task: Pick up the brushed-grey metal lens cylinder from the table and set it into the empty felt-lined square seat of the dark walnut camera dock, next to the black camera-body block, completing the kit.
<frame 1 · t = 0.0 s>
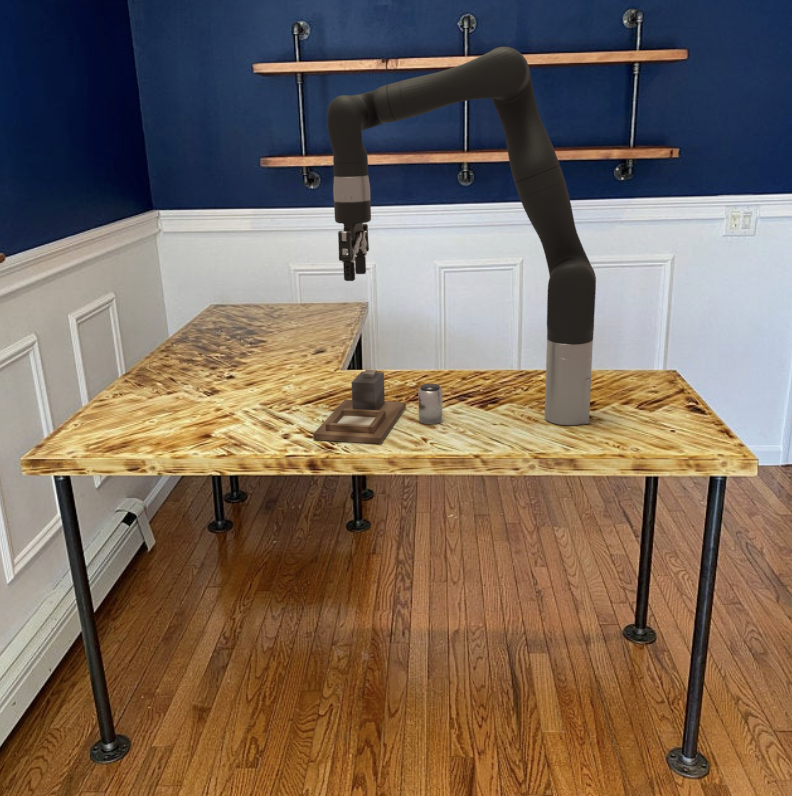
hand: (355, 277, 175), 29 cm above the table, fingers open, 8 cm apart
lens: (430, 420, 175), on the table
dock: (361, 422, 175), on the table
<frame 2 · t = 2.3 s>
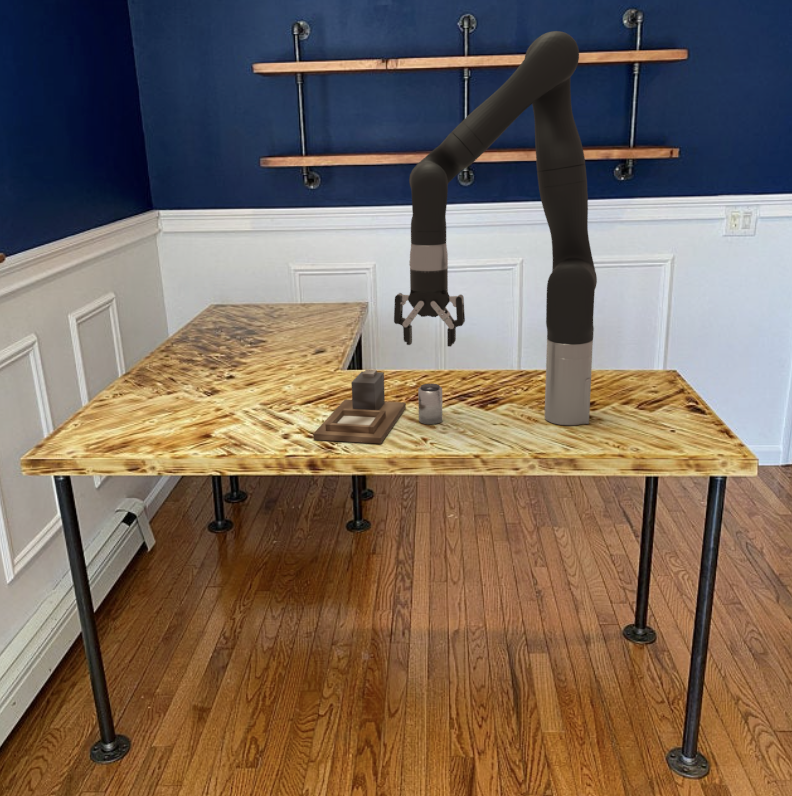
hand: (429, 344, 170), 16 cm above the table, fingers open, 8 cm apart
nothing on the table moved.
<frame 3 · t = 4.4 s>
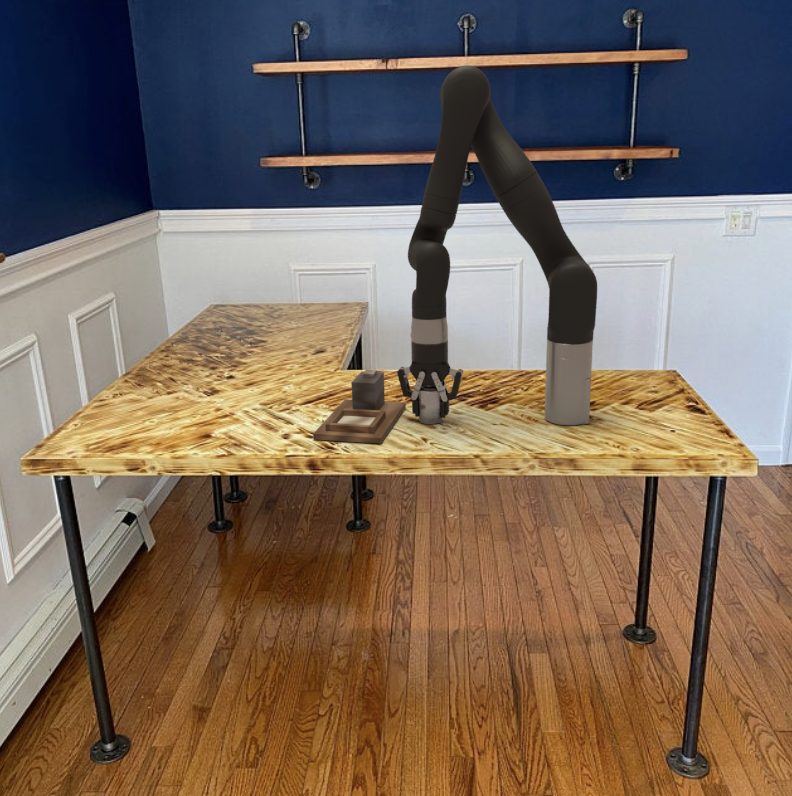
hand: (430, 415, 175), 1 cm above the table, fingers closed on lens, 5 cm apart
lens: (430, 420, 175), on the table, touching gripper
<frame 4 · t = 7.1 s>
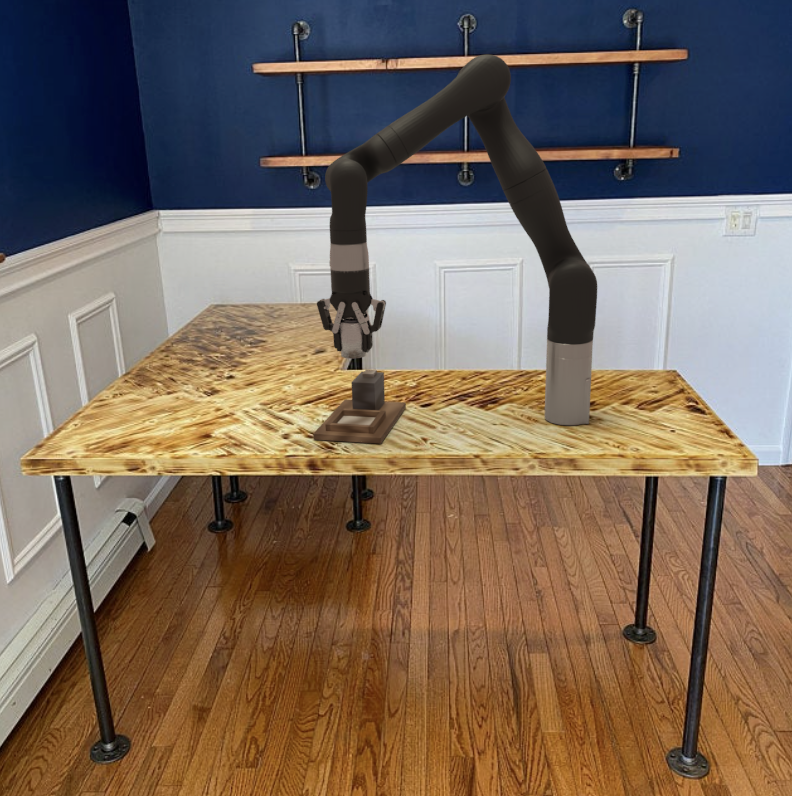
hand: (353, 350, 166), 17 cm above the table, fingers closed on lens, 5 cm apart
lens: (353, 355, 166), point 16 cm above the table, touching gripper
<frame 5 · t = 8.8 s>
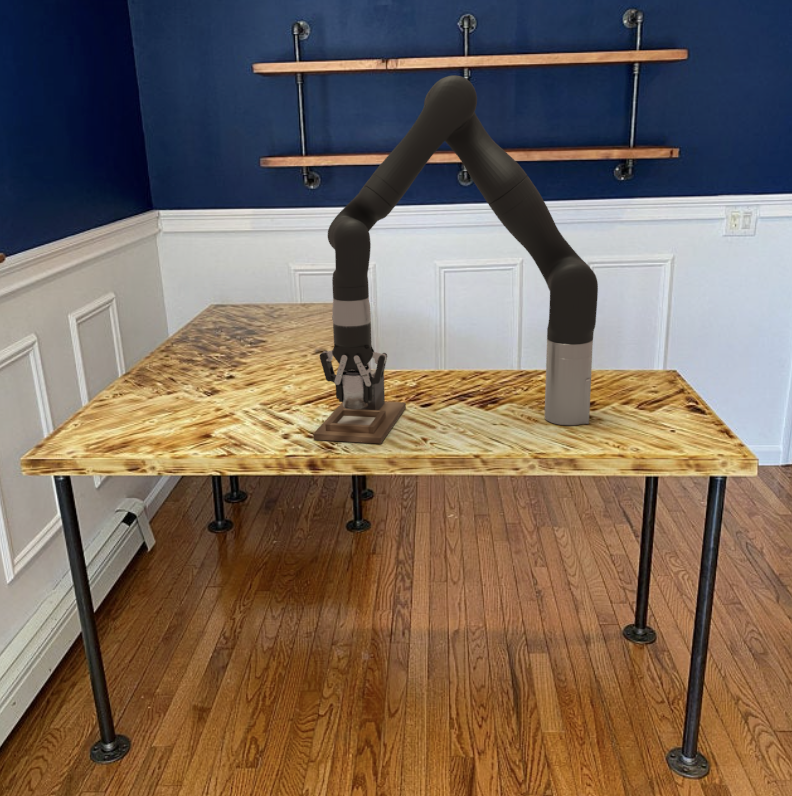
hand: (355, 401, 169), 6 cm above the table, fingers closed on lens, 5 cm apart
lens: (355, 405, 169), point 5 cm above the table, touching gripper
when the fingers open (4 cm above the table, at t = 9.9 s): lens drops 1 cm, resting on dock.
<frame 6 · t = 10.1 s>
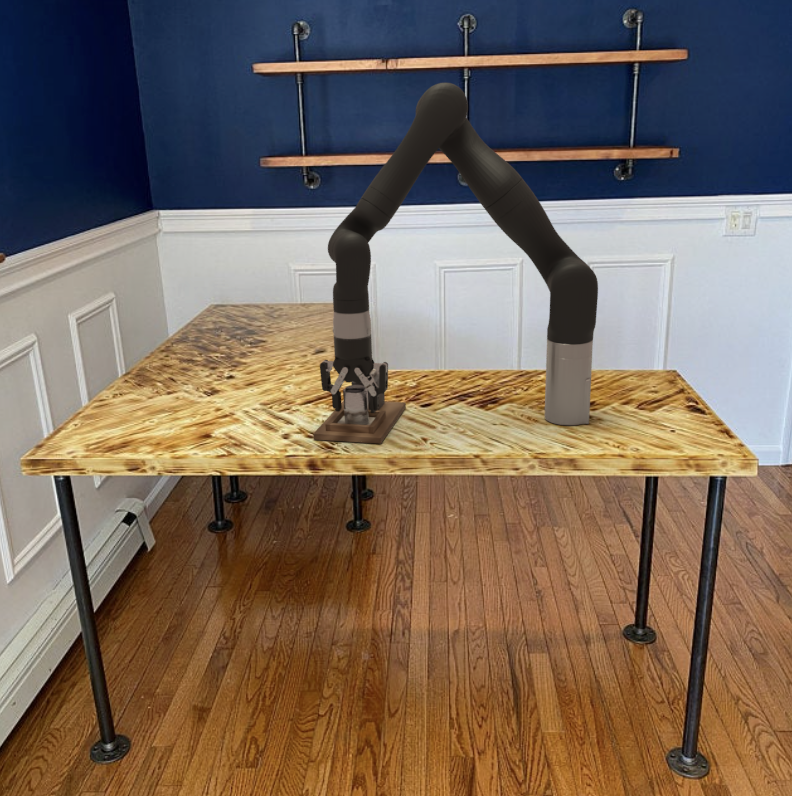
hand: (355, 411, 170), 4 cm above the table, fingers open, 7 cm apart
lens: (357, 422, 171), point 1 cm above the table, touching dock
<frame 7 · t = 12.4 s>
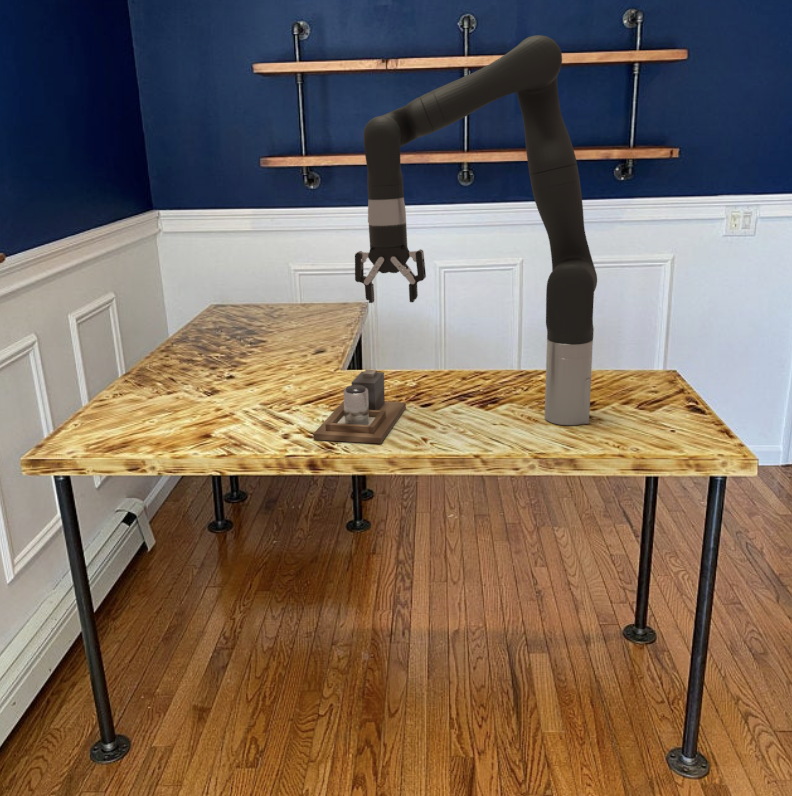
hand: (391, 302, 170), 25 cm above the table, fingers open, 8 cm apart
nothing on the table moved.
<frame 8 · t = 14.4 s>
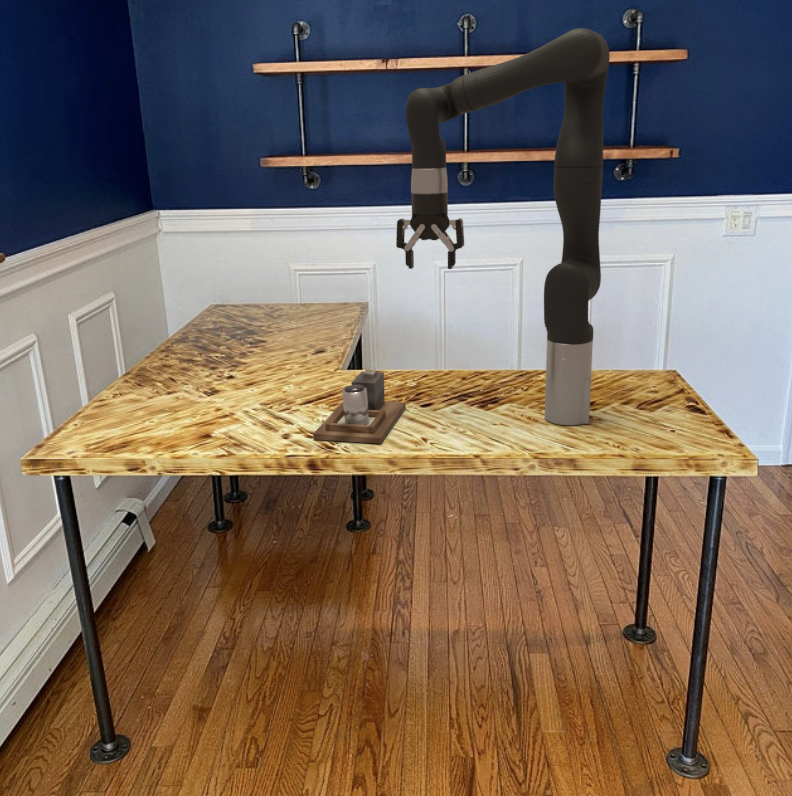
hand: (430, 268, 177), 30 cm above the table, fingers open, 8 cm apart
nothing on the table moved.
at the end: lens 0.1 cm from the target spot, point 1.5 cm above the table; lens tilted 2°; the gripper is holding nothing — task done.
